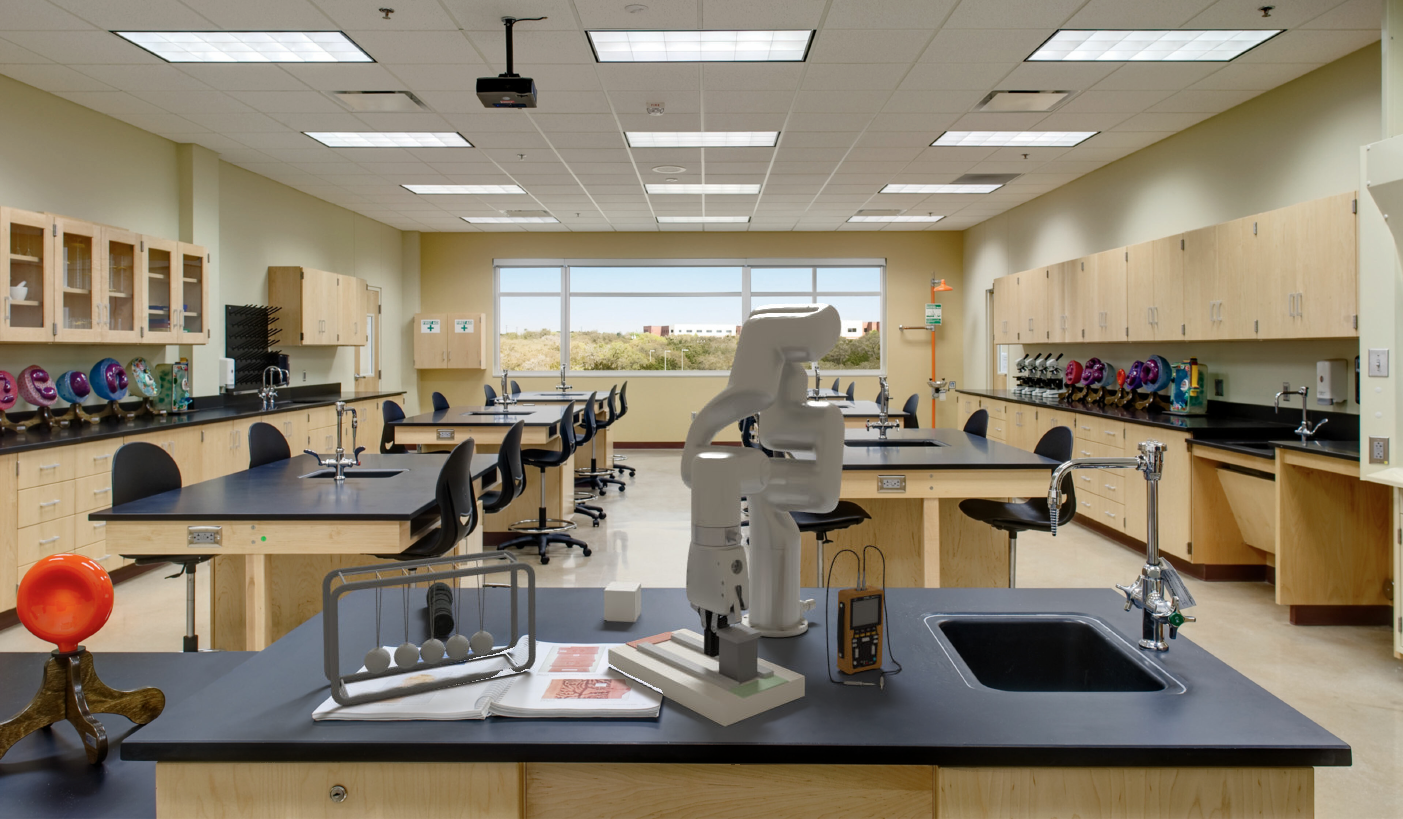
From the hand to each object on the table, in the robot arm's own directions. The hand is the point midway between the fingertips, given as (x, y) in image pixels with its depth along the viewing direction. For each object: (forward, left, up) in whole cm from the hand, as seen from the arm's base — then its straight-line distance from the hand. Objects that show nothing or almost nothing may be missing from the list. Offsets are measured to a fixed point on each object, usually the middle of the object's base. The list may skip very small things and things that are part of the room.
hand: (715, 653), depth 126 cm
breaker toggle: (0, +5, -2) cm, 5 cm away
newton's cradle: (+31, -31, -5) cm, 44 cm away
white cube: (-9, -37, -5) cm, 38 cm away
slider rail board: (0, -3, -5) cm, 6 cm away
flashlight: (+19, -57, -6) cm, 60 cm away
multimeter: (-22, +13, -5) cm, 26 cm away
